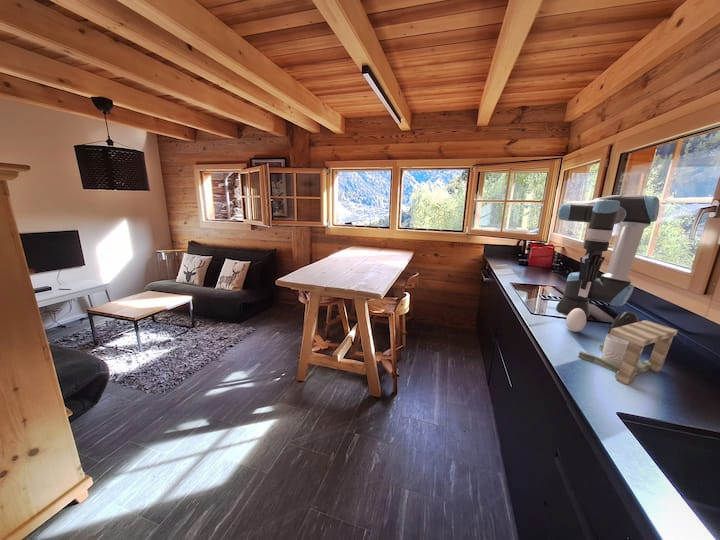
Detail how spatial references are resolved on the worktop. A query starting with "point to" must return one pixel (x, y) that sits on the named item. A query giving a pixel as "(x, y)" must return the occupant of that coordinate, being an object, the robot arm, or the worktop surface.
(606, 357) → the white cup
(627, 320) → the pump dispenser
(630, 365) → the wooden slatted bench
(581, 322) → the egg
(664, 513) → the worktop surface
